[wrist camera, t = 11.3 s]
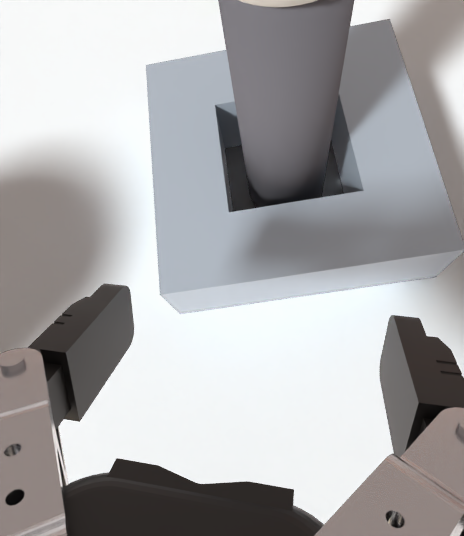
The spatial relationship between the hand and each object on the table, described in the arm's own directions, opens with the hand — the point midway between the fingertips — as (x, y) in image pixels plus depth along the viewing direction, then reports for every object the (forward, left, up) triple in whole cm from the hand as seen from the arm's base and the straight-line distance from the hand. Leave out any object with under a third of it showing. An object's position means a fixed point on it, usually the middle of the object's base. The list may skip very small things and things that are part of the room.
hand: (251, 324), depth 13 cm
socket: (+3, +10, -10) cm, 14 cm away
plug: (+3, +10, -10) cm, 14 cm away
